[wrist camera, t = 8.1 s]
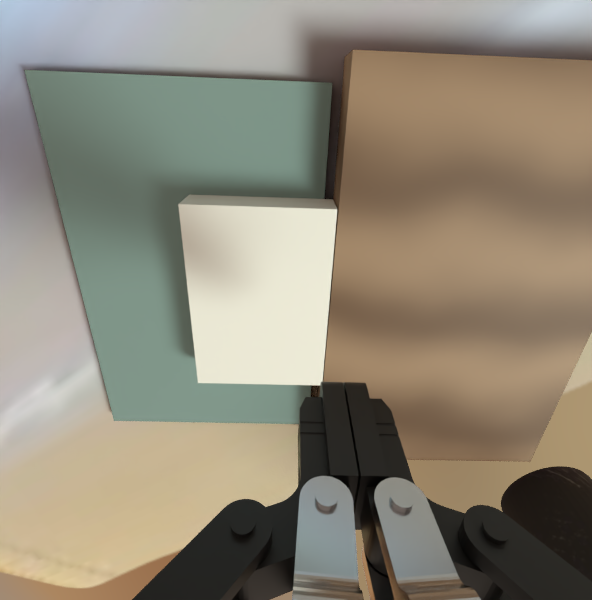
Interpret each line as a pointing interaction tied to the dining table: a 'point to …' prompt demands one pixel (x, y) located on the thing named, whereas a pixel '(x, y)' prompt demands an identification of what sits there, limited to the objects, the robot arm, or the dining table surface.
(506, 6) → the dining table surface
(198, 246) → the plastic block
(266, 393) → the rubber mat
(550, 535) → the travel mug
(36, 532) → the dining table surface
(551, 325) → the board
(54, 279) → the dining table surface
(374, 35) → the dining table surface
